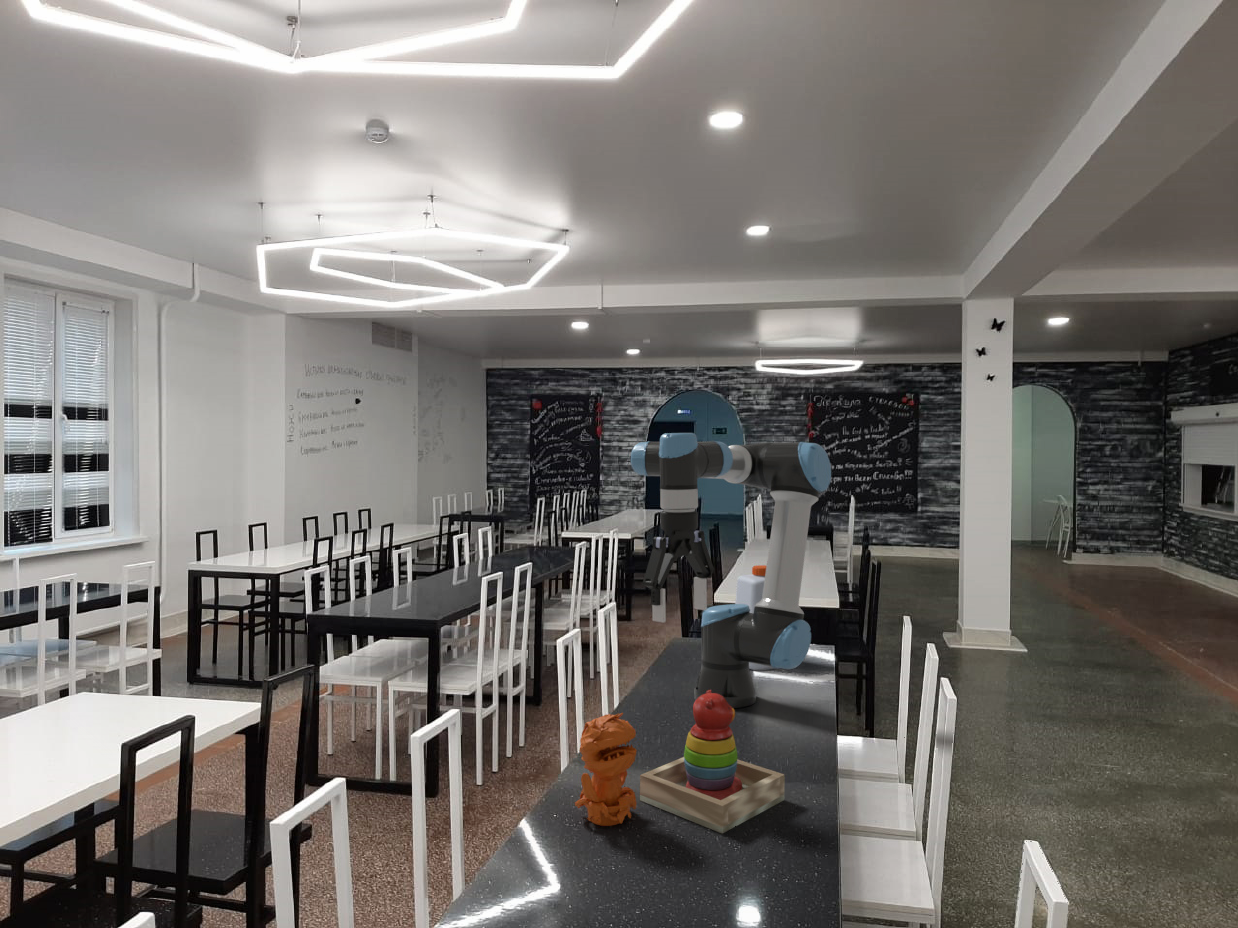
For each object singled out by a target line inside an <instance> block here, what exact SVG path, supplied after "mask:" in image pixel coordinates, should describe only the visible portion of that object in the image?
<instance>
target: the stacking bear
mask: <svg viewBox="0 0 1238 928" xmlns="http://www.w3.org/2000/svg"><path fill="white" fill-rule="evenodd" d="M692 705H693V706H692V714H693V718H694V721H695V724H694V725H693V726H692V727H691V728H690V731H688V733H687V736H686V741H685V746H684V753H683V757H684V764H685V769H686V774H687V779H688V782H687V784H686V788H689V789H691V790H694V791H697V792H700V793H702V794H705V795H708V796H710V797H713V798H716V799H718V800H722V799H724V798H726V797H728V796H730V795H732V794H734V793H737V792H739V791H741V790H742V782H741V780H740V779H738V778H737V777H735V772H736V768H737V759H739V758H738V750H737V746H736V741H735V740H736V739H735V736H734V734H733V730H732V728H731V727H730V725H731V723H732V722H733V721H734V719H735V718H736V717H735V716H736V714H737V712H736V710H735V708H732V707H731V706H730V705H729V704H728V702H727V701H726V699H725V698H724V697H723V696H721V695H719V694H716V693H711V690H708V691H707V692H706V694H703V695H701V696H700V697H698V698H697V699H696V700H695V701H694V702H693V704H692Z"/></svg>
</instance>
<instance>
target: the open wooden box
mask: <svg viewBox="0 0 1238 928" xmlns="http://www.w3.org/2000/svg"><path fill="white" fill-rule="evenodd" d="M735 777H737V778H738V779H740V780H741V782H742V790H741V791H739V792H737V793H734V794H732V795H730V796H728V797H726V798H724V799H722V800H718V799H716V798H713V797H710V796H708V795H705V794H702V793H700V792H697V791H694V790H691V789H689V788H686V784H687V782H688V779H687V774H686V769H685V764H684V756H683V757H680V758H678V759H675V760H673V761H670V762H669V763H666V764H663V765H661V766H659V767H657V768H654V769H652V770H649V771H647V772H643V773H642V774H640V776H639V801H640V802H643V803H645V804H648V805H650V806H654V807H655V808H657V809H658V808H659V809H660V810H663V811H666V812H668V813H670V814H674V815H676V816H678V817H681V818H683V819H686V820H688V821H690V822H693V823H694V824H698V825H700V826H702V827H705V828H707V829H710V830H713V831H715V832H717V833H719V834H724V833H726V832H728V831H729V830H732V829H734V828H736V827H737V826H739V825H741V824H742V823H745V822H746V821H749V820H750V819H752V818H754V817H756V816H757V815H759V814H761V813H763V812H765V811H767V810H768V809H771V808H772V807H774V806H776V805H778V804H779V803H781V802H783V801H785V774H784V773H781V772H778V771H775V770H771V769H768V768H765V767H763V766H760V765H756V764H753V763H750V762H748V761H747V762H746V761H743V760H740V759H739V758H737V768H736V772H735ZM735 826H736V827H735Z"/></svg>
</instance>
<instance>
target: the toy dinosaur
mask: <svg viewBox="0 0 1238 928" xmlns="http://www.w3.org/2000/svg"><path fill="white" fill-rule="evenodd" d="M623 715H624V712H621V713H619V712H618V713H616V714H611V713H608V714H604V715H602V716H599V717H596V718H593V719H592V720H590V721H587V722H585V724H584V726H583V730H582V731H581V737H580V741H579V742H580V746H579V750H578V751H579V752H580V754H581V759H580V760H581V761H583V762H584V766H583V769H586V770H588V771H589V773H590V774H592V773H593V774H592V776H590V774H589V773H587V772H583V773H582V775H581V776H580V781H581V786H582V789H581V792H580V794H579V799H578V800H577V801H574V806H575V807H577V809H580V808H582V807H583V806H584V807H585V808H586V810H587V816H588V817H587V818H586V819H587V820H588V821H589V822H591V823H592V824H594V825H598V826H602V827H606V826H607V827H608V826H617V825H619V824H623V822H624V820H625V817H626V816H627V818H629V819H631V818H632V813H631V808H632V809H633V810H636V809H637V797H636V794H635V793H636V791H634V790H633V789H632V788H630V787H629V786H625V785H624V784H625V783H626V778H627V776H628V770H629V769H630V768H631V767H632V765H633V763H634V762H636V756H637V751H638V750H637V749H636V748H635V747H633V744H630V741H631V740H633V739H635V738H636V733H637V731H636V729H635V728H634V727H633V726H632V724H630V723H629V721H628V720H626V719H621V717H622V716H623ZM623 744H624V745H623Z"/></svg>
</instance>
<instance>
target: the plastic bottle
mask: <svg viewBox="0 0 1238 928" xmlns="http://www.w3.org/2000/svg"><path fill="white" fill-rule="evenodd" d="M766 566H767V565H765V564H763V565H759V564H758V565H754V566H753V567H751V570H752V571H751V574H741V575H740V576H738V578H737V579H736V590H735V591H736V592H735V602H734V604H745V605H748V606H749V609H750V613H754V607H755V605H756V604H757V603H758V602H760V601H761V600H762V596H763V589H764V581H765V574H766ZM778 669H780V668H773V667H771V666H766V665H761V664H756V663H751V662H749V670H753V671H769V670H778Z"/></svg>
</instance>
